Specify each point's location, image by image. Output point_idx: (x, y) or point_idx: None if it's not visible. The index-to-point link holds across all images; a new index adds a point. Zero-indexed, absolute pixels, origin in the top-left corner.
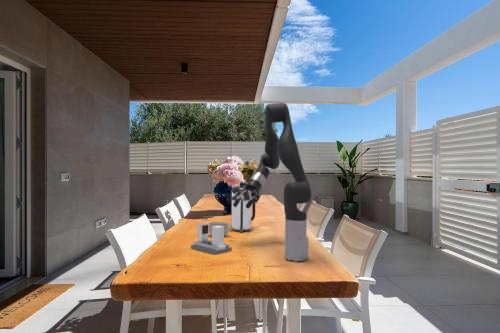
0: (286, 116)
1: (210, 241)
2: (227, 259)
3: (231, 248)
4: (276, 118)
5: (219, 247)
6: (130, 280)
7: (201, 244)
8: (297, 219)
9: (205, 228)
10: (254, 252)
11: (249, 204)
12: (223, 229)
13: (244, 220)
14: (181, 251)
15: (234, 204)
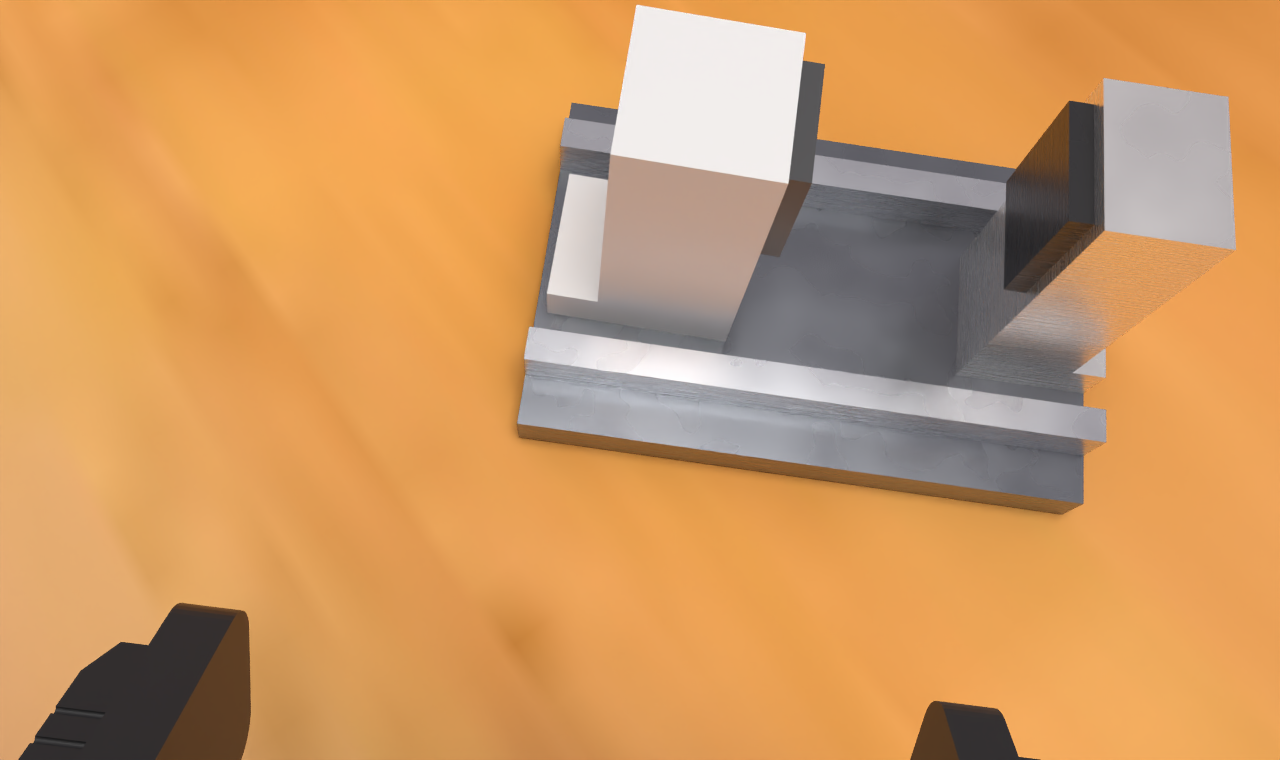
0: None
1: (946, 388)
2: (297, 54)
3: (518, 418)
4: None
5: (570, 180)
6: None
7: (906, 174)
8: None
9: (1044, 178)
10: (156, 555)
11: (60, 708)
12: (611, 172)
13: None
14: (1023, 33)
15: (936, 726)
